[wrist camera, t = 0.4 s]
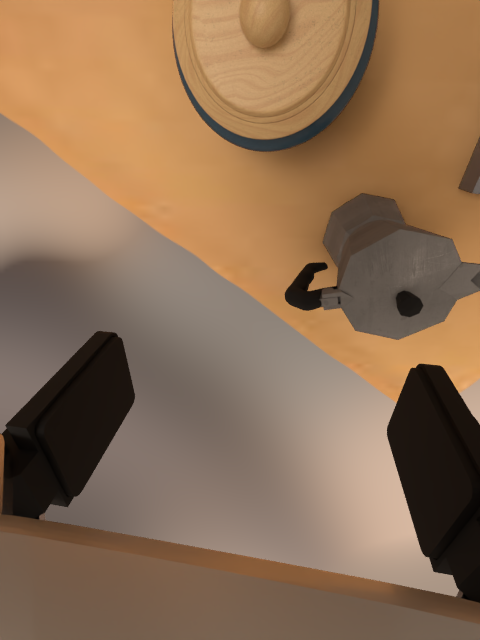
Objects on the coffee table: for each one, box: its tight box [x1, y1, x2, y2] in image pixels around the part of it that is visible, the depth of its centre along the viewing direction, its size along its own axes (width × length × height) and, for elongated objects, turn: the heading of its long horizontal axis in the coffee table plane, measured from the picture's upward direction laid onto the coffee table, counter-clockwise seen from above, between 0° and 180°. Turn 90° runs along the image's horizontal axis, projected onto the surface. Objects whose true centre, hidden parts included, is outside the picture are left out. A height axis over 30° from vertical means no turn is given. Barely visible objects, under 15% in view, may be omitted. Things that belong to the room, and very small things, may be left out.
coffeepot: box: [285, 193, 480, 340], centre depth 29 cm, size 15×9×18 cm, turn 103°
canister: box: [172, 0, 379, 152], centre depth 22 cm, size 13×13×18 cm
